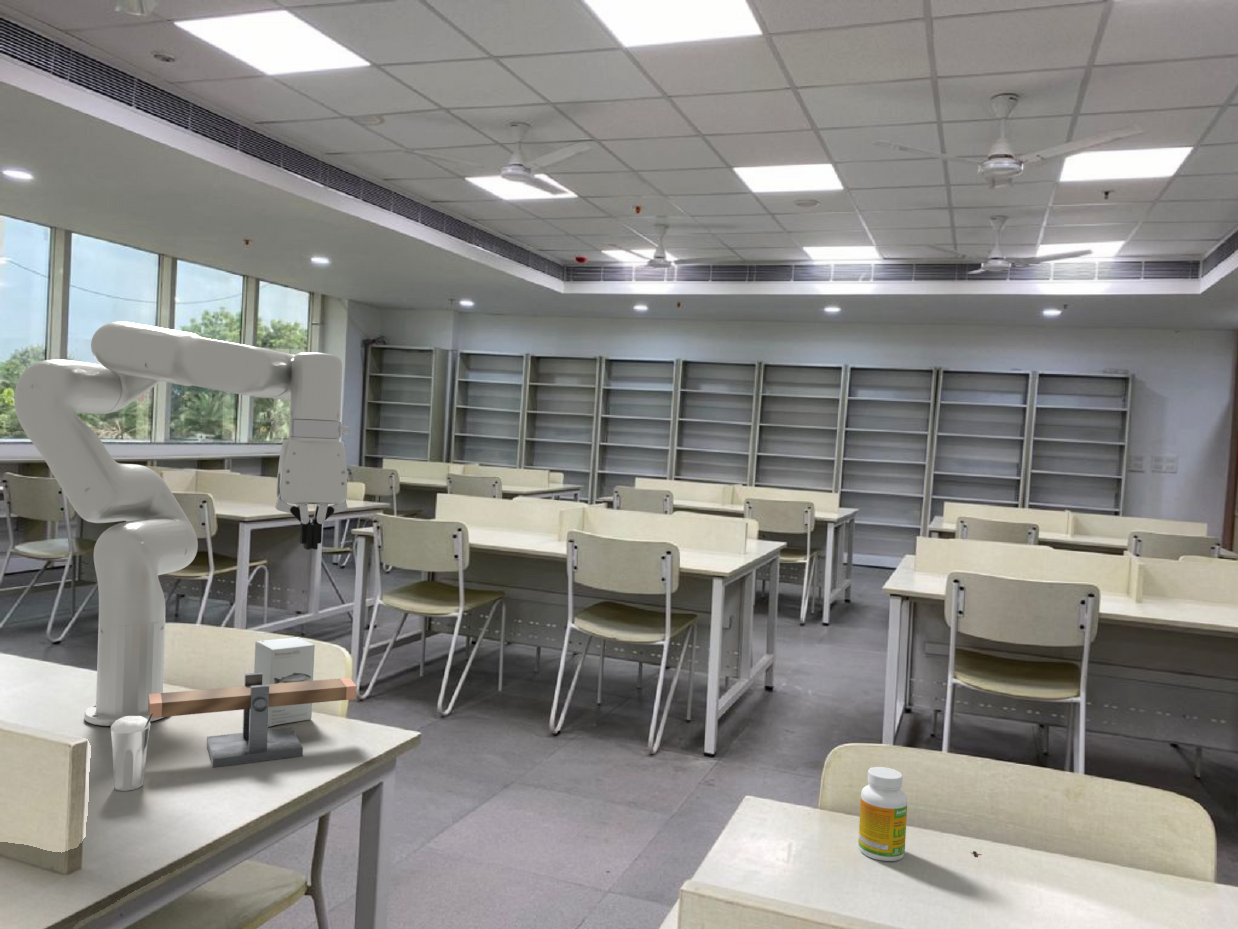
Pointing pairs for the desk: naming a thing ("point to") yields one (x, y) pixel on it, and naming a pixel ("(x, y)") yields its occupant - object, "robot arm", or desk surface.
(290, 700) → the beam
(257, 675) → the beam stand
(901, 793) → the supplement bottle
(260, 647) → the supplement box
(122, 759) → the milkshake
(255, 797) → the desk surface
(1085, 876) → the desk surface
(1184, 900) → the desk surface
